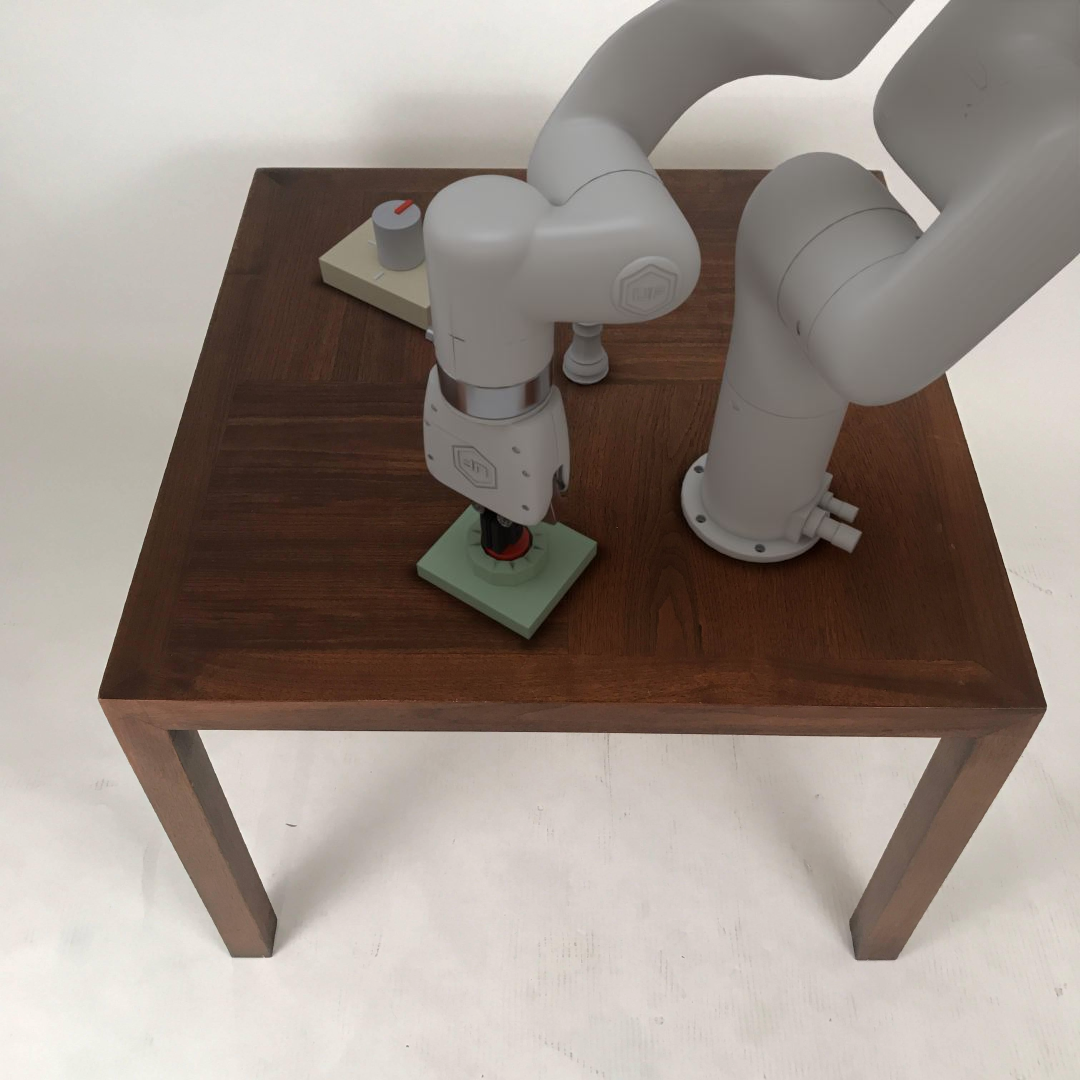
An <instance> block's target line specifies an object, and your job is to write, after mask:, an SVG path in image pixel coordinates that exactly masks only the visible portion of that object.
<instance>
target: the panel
mask: <svg viewBox="0 0 1080 1080" xmlns="http://www.w3.org/2000/svg"><path fill="white" fill-rule="evenodd" d="M318 263H319V267H320V272H321V277H322V280H323V283H324V284H326V285H327V284H328V285H329V286H331V287H334V288H336V289H338V290H339V291H342V292H344V293H346V294H348V295H350V296H353V297H355V298H357V299H359V300H361V301H363V302H365V303H368V304H370V305H372V306H373V307H376V308H378V309H380V310H382V311H384V312H387V313H389V314H390V315H392V316H395V317H397V318H399V319H401V320H403V321H405V322H408V323H409V324H412V325H414V326H416V327H418V328H420V329H422V330H424V331H425V332H426V331H427V329H428V327H429V326H430V325H431V324H432V316H431V307H430V297H429V288H428V278H427V268H426V259H424V261H423V262H422V263H421V264H420V265H419V266H417V267H415V268H413V269H410V270H406V271H395V270H390V269H388V268H386V267H384V266H383V265H382V264H381V263H380V261H379V258H378V251H377V245H376V239H375V233H374V227H373V221H372V216H371V217H370V218H368V219H367V220H366V221H364V222H363V223H362V224H361V225H359V226H358V227H357V228H356V229H354V230H353V231H351V232H350V233H349V234H348V235H347V236H345V237H344V238H343V239H341V241H339V242H338V243H337V244H335V245H334V246H332V247H331V248H330V249H329V250H328V251H327V252H325V253H324V254H322V255H321V256H320V257H318Z"/></svg>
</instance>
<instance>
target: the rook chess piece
mask: <svg viewBox="0 0 1080 1080" xmlns="http://www.w3.org/2000/svg"><path fill="white" fill-rule="evenodd" d="M603 325H604V324H597V323H574V322H572V324H571V327H572V328H571V329H572V331H573V338H572V342H571V344H570V346H569V347H568V348H567V350H566V352H565V353H564V356H563V363H562V371H563V373H564V375H565V376H566V377H567V378H568V379H569V380H571V381H572V382H573V383H576V384H579V385H592V384H596V383H598V382H600V381H601V380H602V379H604V378H605V377H606V376H607V374H608V372H609V357H608V353H607V352H606V351H605V348H604V347H603V345H602V340H601V339H602V338H601V332H602V331H603V329H604V327H603Z"/></svg>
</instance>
